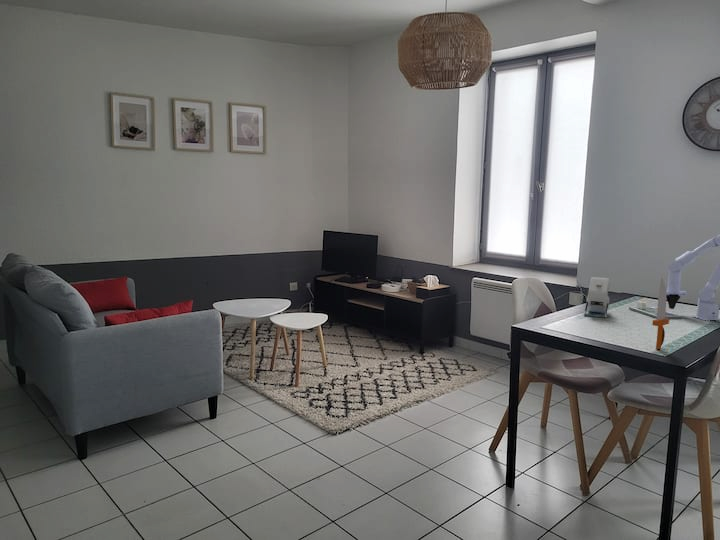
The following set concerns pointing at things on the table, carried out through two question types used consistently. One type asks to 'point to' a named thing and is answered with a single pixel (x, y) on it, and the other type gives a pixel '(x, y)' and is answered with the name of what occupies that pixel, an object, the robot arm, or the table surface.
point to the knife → (661, 315)
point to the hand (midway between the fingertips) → (671, 308)
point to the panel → (651, 312)
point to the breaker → (641, 305)
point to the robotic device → (598, 297)
